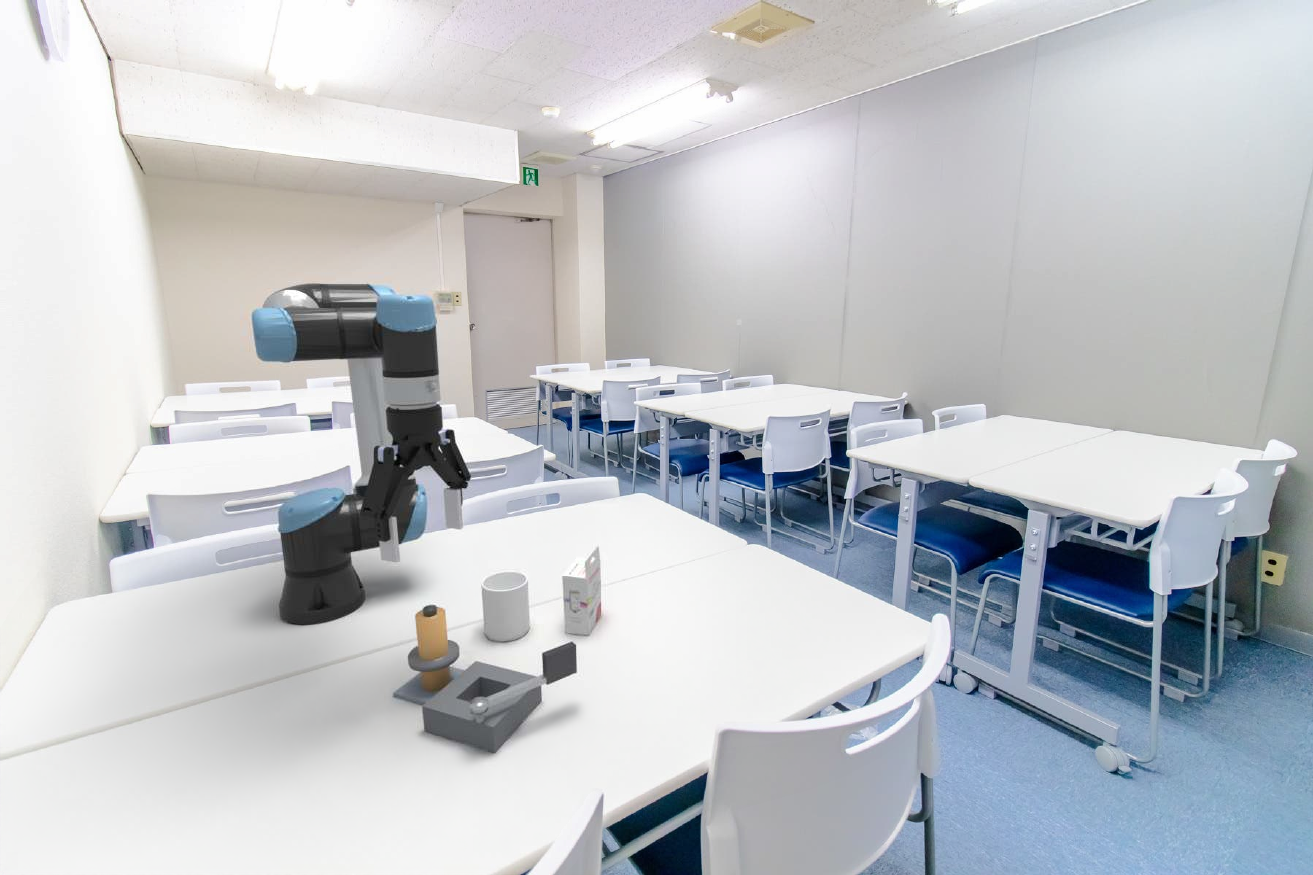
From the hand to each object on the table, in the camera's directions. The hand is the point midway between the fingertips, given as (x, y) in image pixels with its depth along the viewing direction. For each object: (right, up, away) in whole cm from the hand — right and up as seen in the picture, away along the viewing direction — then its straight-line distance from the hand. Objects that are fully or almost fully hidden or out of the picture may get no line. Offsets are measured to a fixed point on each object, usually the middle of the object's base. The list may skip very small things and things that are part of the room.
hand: (424, 543), depth 92 cm
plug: (0, -23, +5) cm, 24 cm away
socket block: (+10, -25, -2) cm, 27 cm away
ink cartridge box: (+21, -20, +24) cm, 38 cm away
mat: (0, -24, +5) cm, 24 cm away
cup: (+7, -20, +23) cm, 31 cm away
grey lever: (+16, -20, -5) cm, 27 cm away
